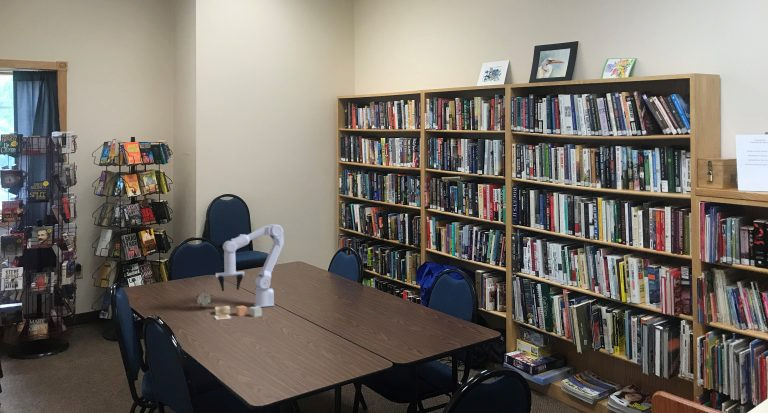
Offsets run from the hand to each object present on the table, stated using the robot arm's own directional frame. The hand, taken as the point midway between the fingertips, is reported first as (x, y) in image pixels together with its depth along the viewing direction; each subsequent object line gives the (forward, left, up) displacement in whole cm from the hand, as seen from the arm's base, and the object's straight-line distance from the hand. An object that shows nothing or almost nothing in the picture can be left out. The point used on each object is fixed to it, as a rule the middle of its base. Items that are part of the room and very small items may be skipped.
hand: (230, 290), depth 319 cm
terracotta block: (-3, +13, -11) cm, 17 cm away
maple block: (+5, +5, -11) cm, 13 cm away
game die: (+12, -9, -11) cm, 18 cm away
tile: (+7, +16, -10) cm, 20 cm away
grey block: (-9, +18, -11) cm, 23 cm away
